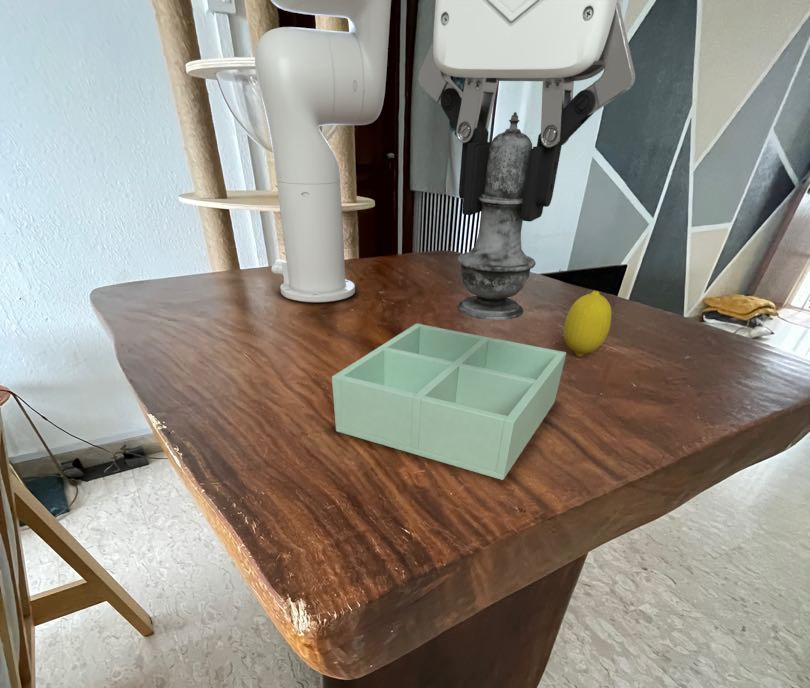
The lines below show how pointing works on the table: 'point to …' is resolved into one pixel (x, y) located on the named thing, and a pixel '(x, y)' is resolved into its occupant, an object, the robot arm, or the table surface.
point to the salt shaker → (499, 233)
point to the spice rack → (449, 397)
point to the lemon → (587, 323)
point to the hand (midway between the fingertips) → (502, 212)
